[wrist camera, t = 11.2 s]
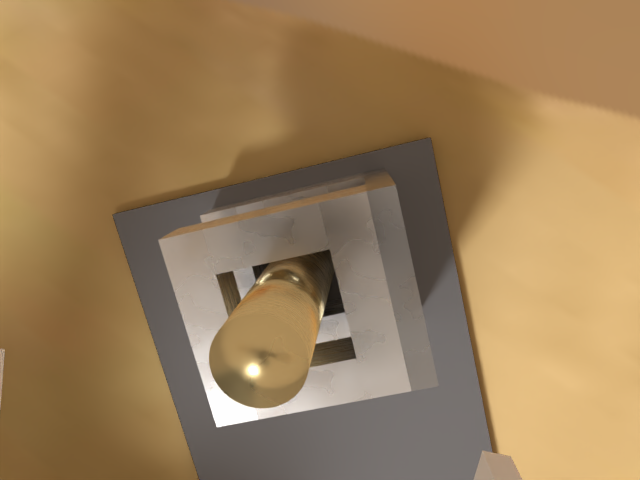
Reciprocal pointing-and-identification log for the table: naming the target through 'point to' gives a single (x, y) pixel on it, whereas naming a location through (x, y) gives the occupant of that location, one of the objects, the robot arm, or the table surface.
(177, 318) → the mat
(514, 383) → the table surface
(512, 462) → the robot arm
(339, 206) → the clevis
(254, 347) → the pin
